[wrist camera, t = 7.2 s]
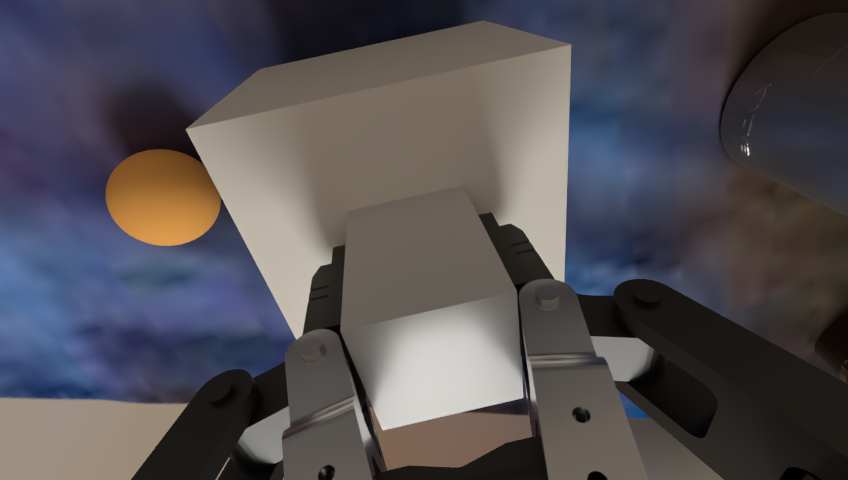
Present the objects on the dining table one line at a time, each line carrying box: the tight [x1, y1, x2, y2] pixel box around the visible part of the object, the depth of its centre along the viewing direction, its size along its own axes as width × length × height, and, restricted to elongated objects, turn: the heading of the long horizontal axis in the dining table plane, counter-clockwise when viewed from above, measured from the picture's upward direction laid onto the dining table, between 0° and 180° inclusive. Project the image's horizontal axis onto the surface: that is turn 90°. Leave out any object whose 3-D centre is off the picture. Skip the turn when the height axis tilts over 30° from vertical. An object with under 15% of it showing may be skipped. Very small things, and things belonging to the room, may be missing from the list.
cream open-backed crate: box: [186, 20, 571, 430], centre depth 15 cm, size 10×10×14 cm
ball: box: [106, 149, 221, 246], centre depth 21 cm, size 5×5×5 cm
